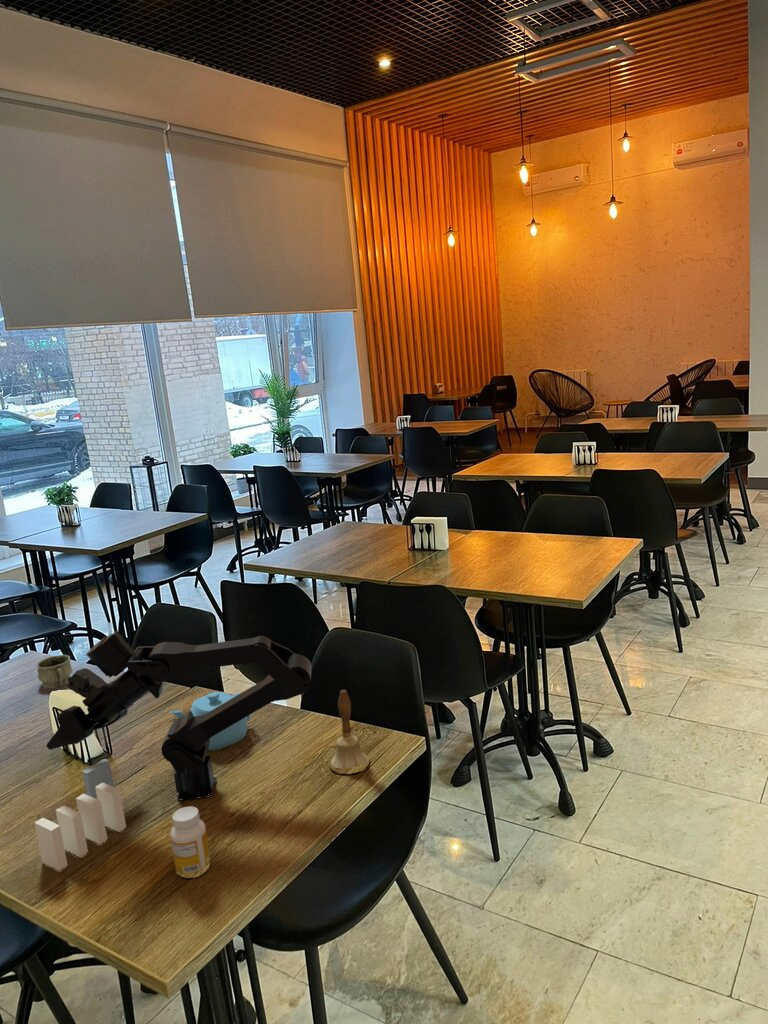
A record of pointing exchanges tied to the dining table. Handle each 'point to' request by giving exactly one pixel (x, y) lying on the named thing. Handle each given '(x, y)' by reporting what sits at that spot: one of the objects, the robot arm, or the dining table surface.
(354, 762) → the hand bell
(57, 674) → the vessel
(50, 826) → the domino
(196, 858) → the supplement bottle
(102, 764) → the domino
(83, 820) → the domino
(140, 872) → the dining table surface
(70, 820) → the domino
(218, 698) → the teapot
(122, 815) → the domino
